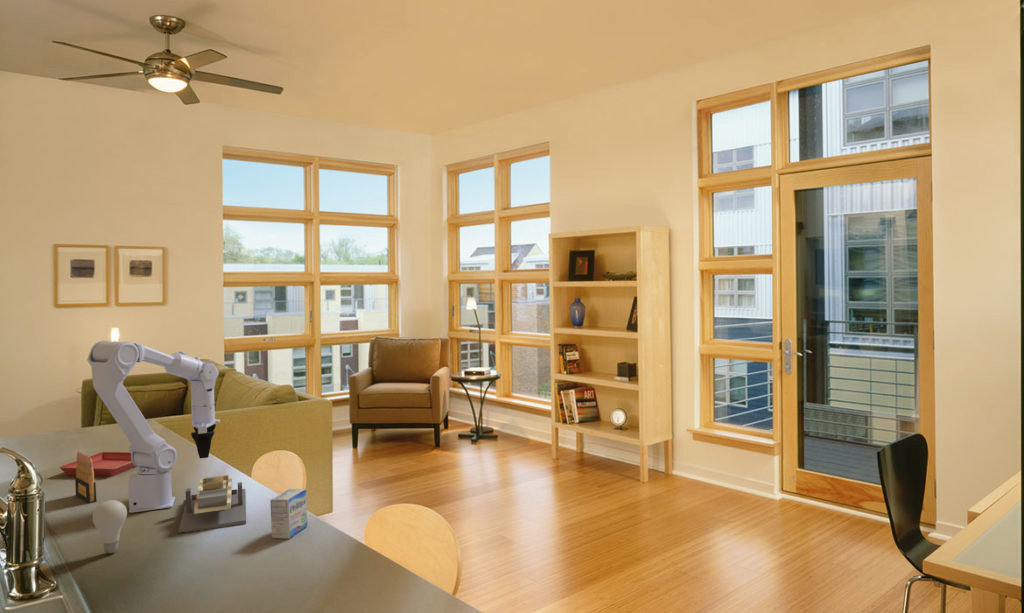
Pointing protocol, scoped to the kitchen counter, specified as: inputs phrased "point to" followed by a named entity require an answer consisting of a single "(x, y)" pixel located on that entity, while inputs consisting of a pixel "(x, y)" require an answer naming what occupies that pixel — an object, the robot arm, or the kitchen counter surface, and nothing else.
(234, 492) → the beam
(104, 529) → the lightbulb
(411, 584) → the kitchen counter surface
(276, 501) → the medicine box
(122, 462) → the red tray
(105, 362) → the robot arm
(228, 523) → the stand
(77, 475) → the ammunition clip
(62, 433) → the kitchen counter surface
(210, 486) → the block
